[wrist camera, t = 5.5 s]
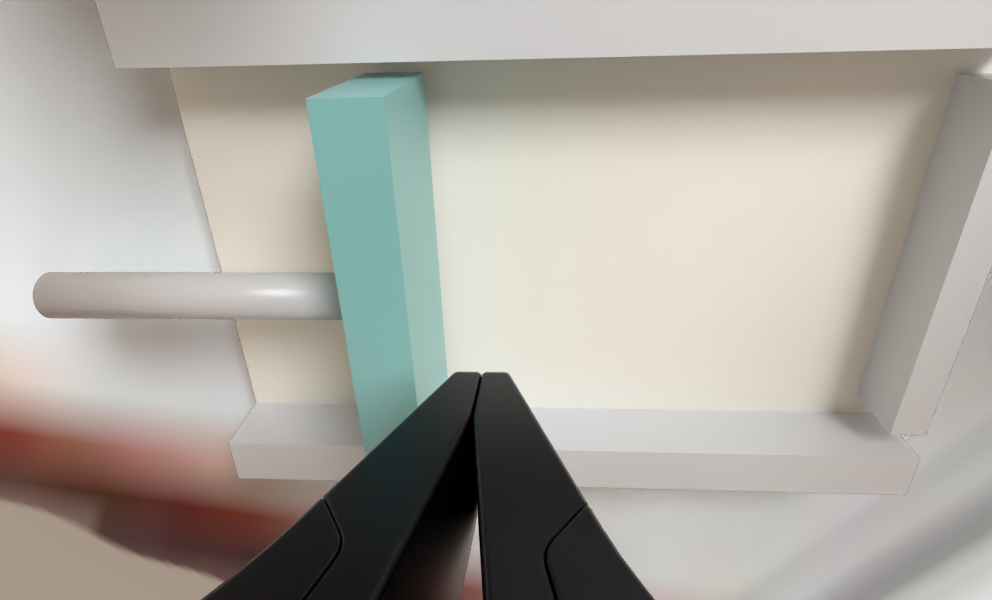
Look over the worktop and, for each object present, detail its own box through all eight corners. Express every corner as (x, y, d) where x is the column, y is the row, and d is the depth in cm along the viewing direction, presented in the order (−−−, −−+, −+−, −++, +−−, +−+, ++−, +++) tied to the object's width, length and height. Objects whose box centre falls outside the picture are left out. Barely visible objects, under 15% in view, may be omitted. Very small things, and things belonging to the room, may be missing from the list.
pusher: (424, 71, 12) (383, 96, 9) (449, 405, 16) (428, 506, 13) (41, 80, 12) (-125, 106, 9) (156, 401, 16) (66, 496, 13)
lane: (1009, -48, 11) (1124, -60, 9) (854, 437, 17) (901, 504, 15) (167, -19, 12) (87, -23, 10) (278, 426, 18) (241, 486, 16)
